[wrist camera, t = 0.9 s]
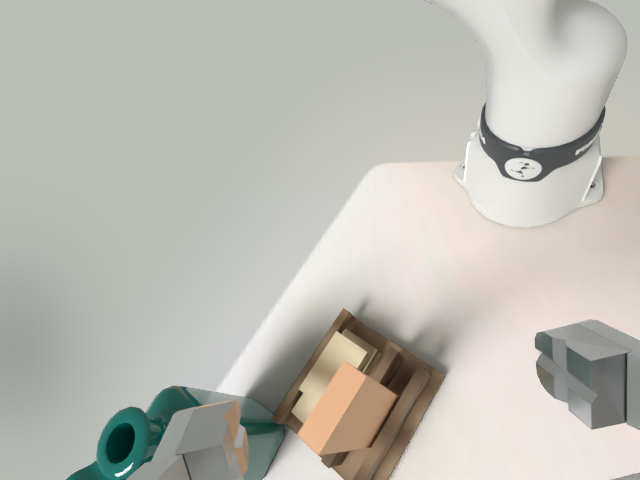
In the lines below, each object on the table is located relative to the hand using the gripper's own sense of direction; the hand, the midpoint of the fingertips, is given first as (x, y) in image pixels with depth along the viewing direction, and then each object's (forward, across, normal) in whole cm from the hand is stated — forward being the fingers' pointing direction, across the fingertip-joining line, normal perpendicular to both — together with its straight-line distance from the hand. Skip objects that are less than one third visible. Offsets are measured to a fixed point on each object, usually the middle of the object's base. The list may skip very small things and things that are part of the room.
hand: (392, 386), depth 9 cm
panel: (+27, -4, +24) cm, 36 cm away
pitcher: (+33, +14, +28) cm, 45 cm away
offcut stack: (+31, 0, +21) cm, 38 cm away
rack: (+30, -2, +24) cm, 39 cm away
